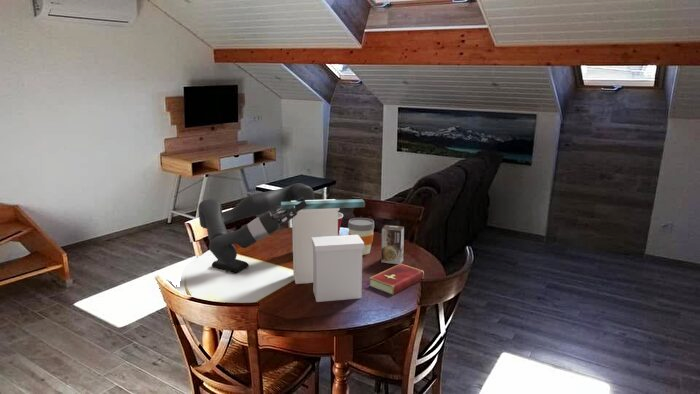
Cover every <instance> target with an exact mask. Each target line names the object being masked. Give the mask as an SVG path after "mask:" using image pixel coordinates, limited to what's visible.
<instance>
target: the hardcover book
mask: <svg viewBox="0 0 700 394" xmlns="http://www.w3.org/2000/svg"><path fill="white" fill-rule="evenodd" d="M424 277H425V272H424V270H422V269H419V268H416V267H412V266H409V265H407V264H404V263H401V264H395V265H394V266H392V267H390V268H387V269H385V270H384V271H380V272H379V273H377V274H375V275H373V276H369V278H368V279H369V280H370V283H369V284H370V287H372V288H375V289H377V290H379V291H382V292H385V293H387V294H390V295H392V296H394V295H396V294H398V293H399V292H401V291H403V290H405V289H407V288H409V287H411V286H412V285H415V284H417V283H418V282H420V281H422V280H423V279H424ZM421 279H422V280H421Z"/></svg>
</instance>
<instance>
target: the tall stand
mask: <svg viewBox="0 0 700 394" xmlns="http://www.w3.org/2000/svg"><path fill="white" fill-rule="evenodd" d="M322 200H323V199H314V200H305V201H322ZM326 200H336V199H335V198H332V199H326ZM291 202H293V201H291ZM339 211H340V208H328V209H302V210H300V211H298V213H297V215H296V216H294V217H293V242H292V256H293V257H292V259H293V262H292V264H293V266H292V267H293V268H292V269H293V270H292V271H293V274H292V275H293V279H294V283H295V285H299V284H312V283H313V245H312V237H324V236H338V212H339Z"/></svg>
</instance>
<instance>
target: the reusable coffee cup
mask: <svg viewBox="0 0 700 394" xmlns="http://www.w3.org/2000/svg"><path fill="white" fill-rule="evenodd" d="M347 228H348V233H347V235H359V237H360V238H361V239H362V241H363V242H364V249H363V250H362V256H365V255H368V254H370V252H371V248H372V244H373V239H374V234H375V233H374V229H375V221H374V219H371V218H367V217H354V218H350V219H349V220H348V223H347Z"/></svg>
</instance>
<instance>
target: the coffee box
mask: <svg viewBox="0 0 700 394" xmlns="http://www.w3.org/2000/svg"><path fill="white" fill-rule="evenodd" d="M404 242H405V226H401V225H391V224H385V225H384V226H383V227H382V228H381V250H380V251H381V254H380V255H381V258H380V259H381V261H380V262H381V263H384V264H385V263H386V264H391V265H392V264H394V265H398V264H403V262H404Z"/></svg>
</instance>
